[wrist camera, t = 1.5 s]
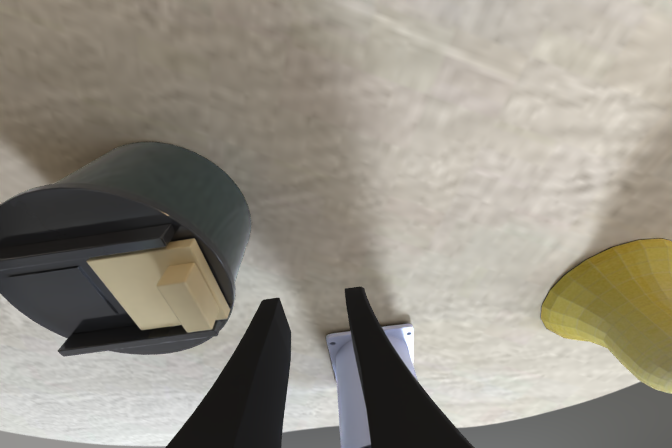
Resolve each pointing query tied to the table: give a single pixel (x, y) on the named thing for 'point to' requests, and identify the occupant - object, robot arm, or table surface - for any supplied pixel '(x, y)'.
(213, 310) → the slider
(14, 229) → the canister
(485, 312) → the table surface
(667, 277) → the handbell
